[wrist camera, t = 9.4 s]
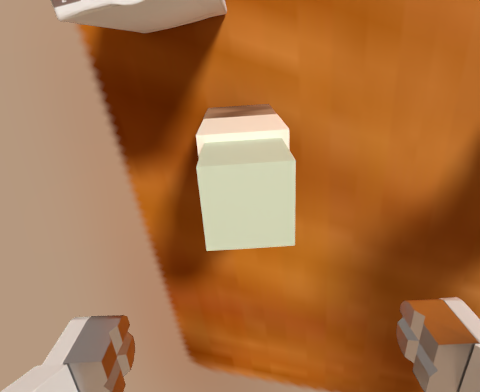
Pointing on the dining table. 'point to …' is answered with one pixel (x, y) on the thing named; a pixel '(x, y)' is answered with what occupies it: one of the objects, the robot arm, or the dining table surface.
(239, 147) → the block small
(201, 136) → the block top
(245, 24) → the dining table surface
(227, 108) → the block bottom
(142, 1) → the skincare box
